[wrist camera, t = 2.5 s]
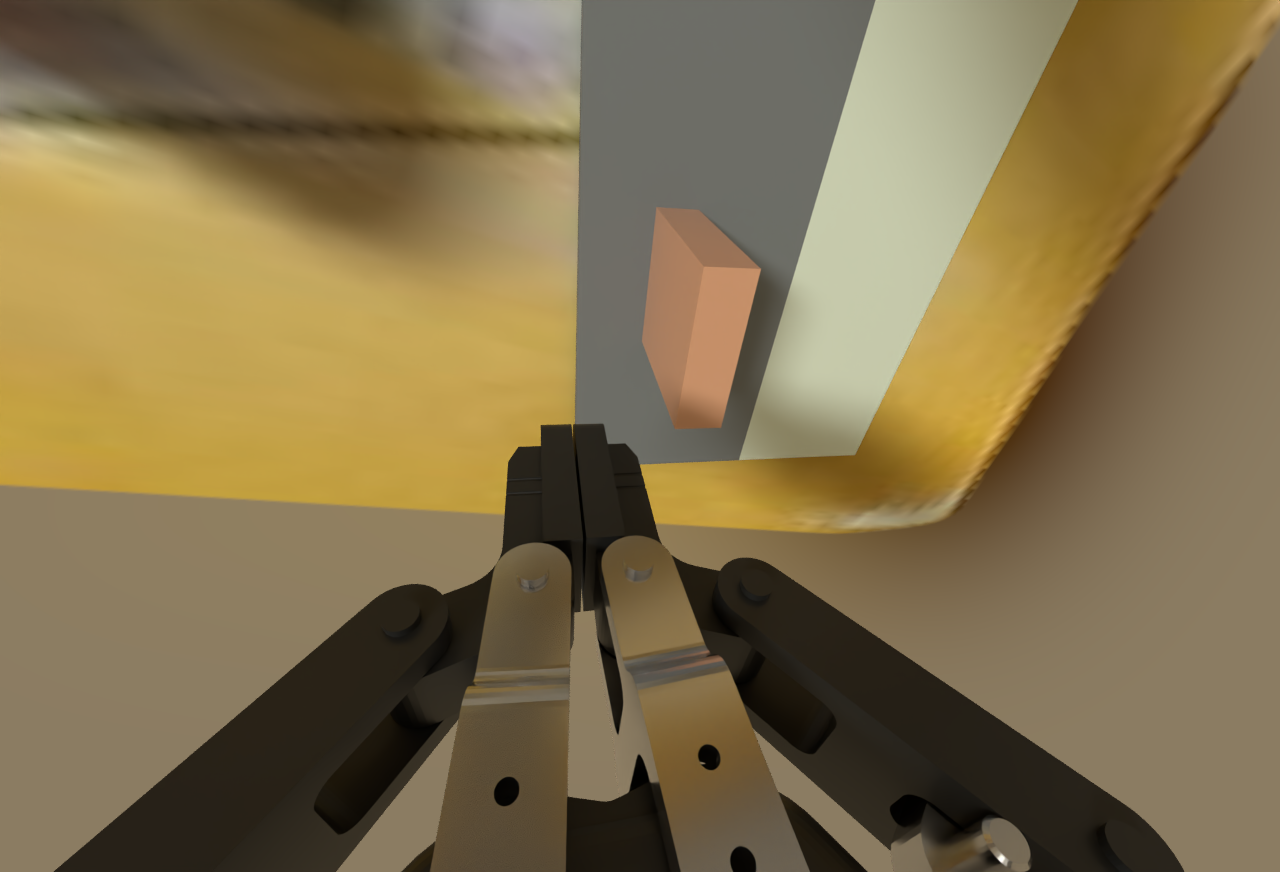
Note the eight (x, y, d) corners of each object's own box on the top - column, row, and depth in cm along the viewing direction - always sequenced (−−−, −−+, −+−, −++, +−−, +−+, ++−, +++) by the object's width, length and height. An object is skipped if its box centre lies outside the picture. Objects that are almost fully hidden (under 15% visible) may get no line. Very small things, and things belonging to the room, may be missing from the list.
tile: (656, 207, 19) (704, 266, 14) (699, 209, 20) (762, 269, 14) (641, 341, 23) (675, 429, 18) (678, 341, 23) (721, 427, 18)
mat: (583, -93, 14) (584, -98, 14) (1066, -3, 18) (1080, -5, 17) (574, 460, 28) (574, 467, 27) (850, 449, 31) (855, 454, 31)
